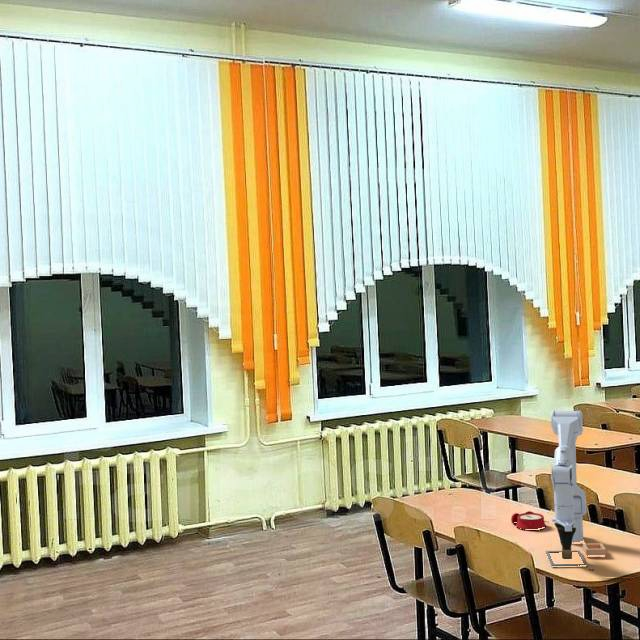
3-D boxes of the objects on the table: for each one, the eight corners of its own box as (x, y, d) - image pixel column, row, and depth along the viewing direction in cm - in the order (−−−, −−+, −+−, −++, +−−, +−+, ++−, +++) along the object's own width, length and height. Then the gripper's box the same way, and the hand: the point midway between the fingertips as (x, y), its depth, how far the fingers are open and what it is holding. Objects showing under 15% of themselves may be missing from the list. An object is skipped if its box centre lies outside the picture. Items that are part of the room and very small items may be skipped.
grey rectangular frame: (545, 554, 273) (545, 550, 273) (579, 554, 271) (579, 550, 271) (551, 568, 259) (551, 565, 259) (587, 568, 258) (587, 564, 258)
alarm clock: (527, 523, 296) (505, 504, 310) (525, 540, 298) (504, 520, 311) (553, 519, 299) (530, 500, 313) (551, 535, 301) (529, 516, 314)
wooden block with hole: (583, 552, 272) (582, 543, 272) (602, 552, 272) (602, 543, 271) (586, 559, 266) (586, 549, 266) (606, 558, 266) (605, 549, 265)
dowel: (561, 556, 266) (560, 531, 265) (570, 556, 266) (569, 531, 265) (563, 559, 263) (562, 534, 262) (572, 559, 263) (571, 533, 262)
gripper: (547, 498, 271) (549, 540, 272) (554, 511, 257) (556, 555, 257) (570, 498, 270) (572, 540, 271) (578, 510, 256) (580, 555, 256)
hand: (565, 547), depth 264 cm, fingers closed on dowel, 3 cm apart
